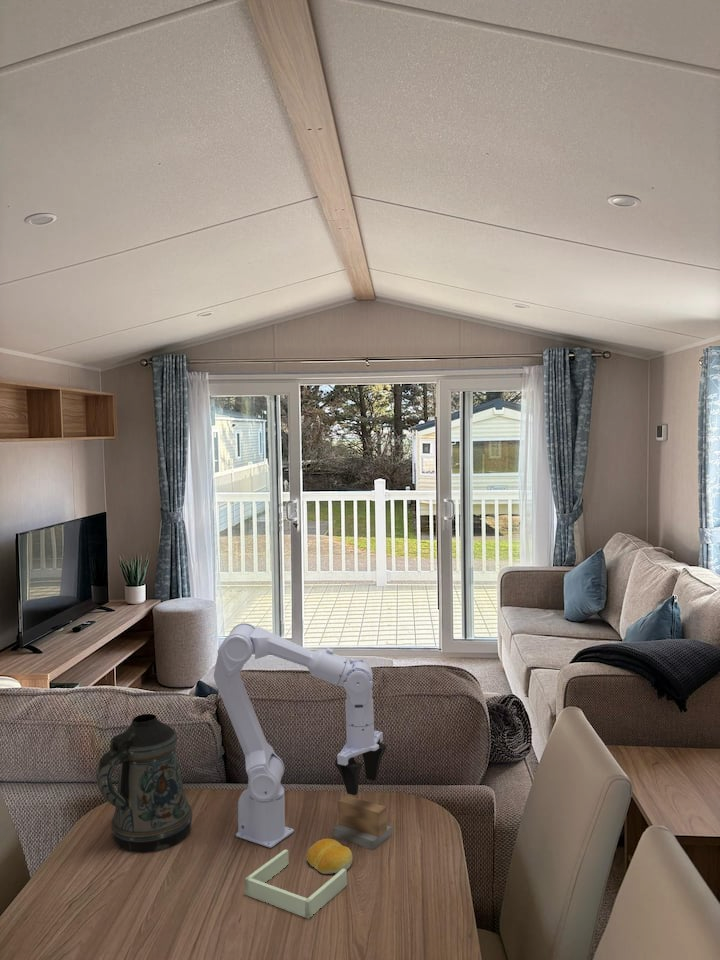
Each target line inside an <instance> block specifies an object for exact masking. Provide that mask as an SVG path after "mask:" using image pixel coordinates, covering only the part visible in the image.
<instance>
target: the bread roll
mask: <svg viewBox="0 0 720 960" xmlns="http://www.w3.org/2000/svg"><path fill="white" fill-rule="evenodd" d="M306 859H307V862H308V864H309V865H310V866H311V867H312V868H313V867H314V868H313V869H314V870H317V871H318V872H319V873H321V874H323V875H332V874H333V873H335V874H337V873H338V872H339V871H340V870H342V869H346V870H348V869H349V868H350V867H352V864H353V859H354V858H353V853H352V850H351V849H350V847H348V846H345V845H342V843H340V842H339V841H338V840H336V839H334V838H322V839H320V840H318V841H316V842H315V843H314V844H312V845H311V847H310V848H308V851H307V853H306ZM333 875H334V874H333Z"/></svg>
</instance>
